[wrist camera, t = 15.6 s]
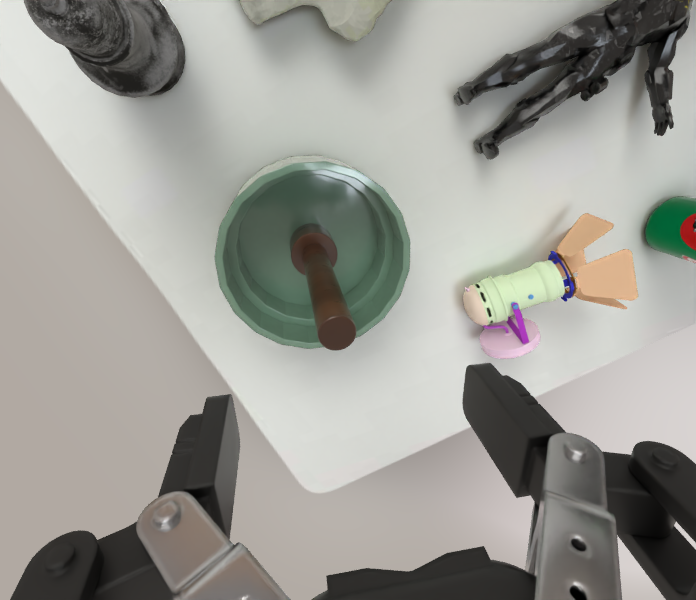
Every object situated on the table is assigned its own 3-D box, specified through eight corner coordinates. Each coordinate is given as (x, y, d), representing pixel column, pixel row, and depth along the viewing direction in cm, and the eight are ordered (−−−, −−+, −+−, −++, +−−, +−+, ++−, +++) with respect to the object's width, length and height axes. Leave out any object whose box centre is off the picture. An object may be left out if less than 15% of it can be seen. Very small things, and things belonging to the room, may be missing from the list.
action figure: (430, 0, 24) (757, -231, 21) (412, 14, 28) (687, -179, 25) (522, 224, 31) (777, 72, 28) (497, 212, 35) (720, 76, 32)
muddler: (287, 224, 31) (296, 303, 17) (331, 221, 31) (373, 296, 18) (291, 266, 32) (303, 369, 19) (333, 262, 33) (374, 361, 19)
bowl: (212, 159, 29) (198, 168, 23) (388, 150, 30) (412, 156, 25) (239, 320, 34) (232, 358, 29) (387, 305, 36) (407, 337, 30)
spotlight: (575, 208, 35) (628, 229, 28) (591, 290, 38) (643, 326, 31) (443, 258, 37) (463, 289, 30) (469, 332, 40) (492, 375, 33)
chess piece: (144, -30, 24) (36, -156, 13) (209, 68, 26) (162, 30, 16) (67, 27, 24) (-100, -49, 14) (137, 118, 27) (44, 114, 16)
